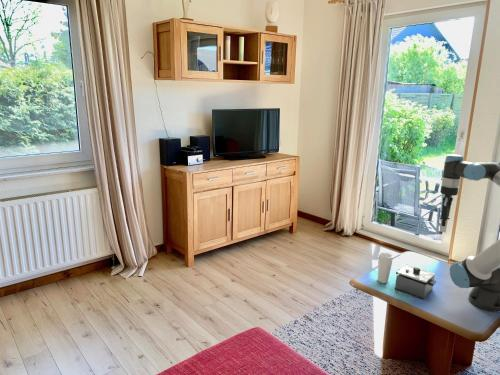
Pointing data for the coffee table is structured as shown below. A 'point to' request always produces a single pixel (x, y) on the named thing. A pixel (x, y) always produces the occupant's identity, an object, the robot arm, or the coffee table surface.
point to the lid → (416, 273)
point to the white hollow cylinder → (384, 267)
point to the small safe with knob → (414, 286)
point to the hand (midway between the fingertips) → (442, 231)
